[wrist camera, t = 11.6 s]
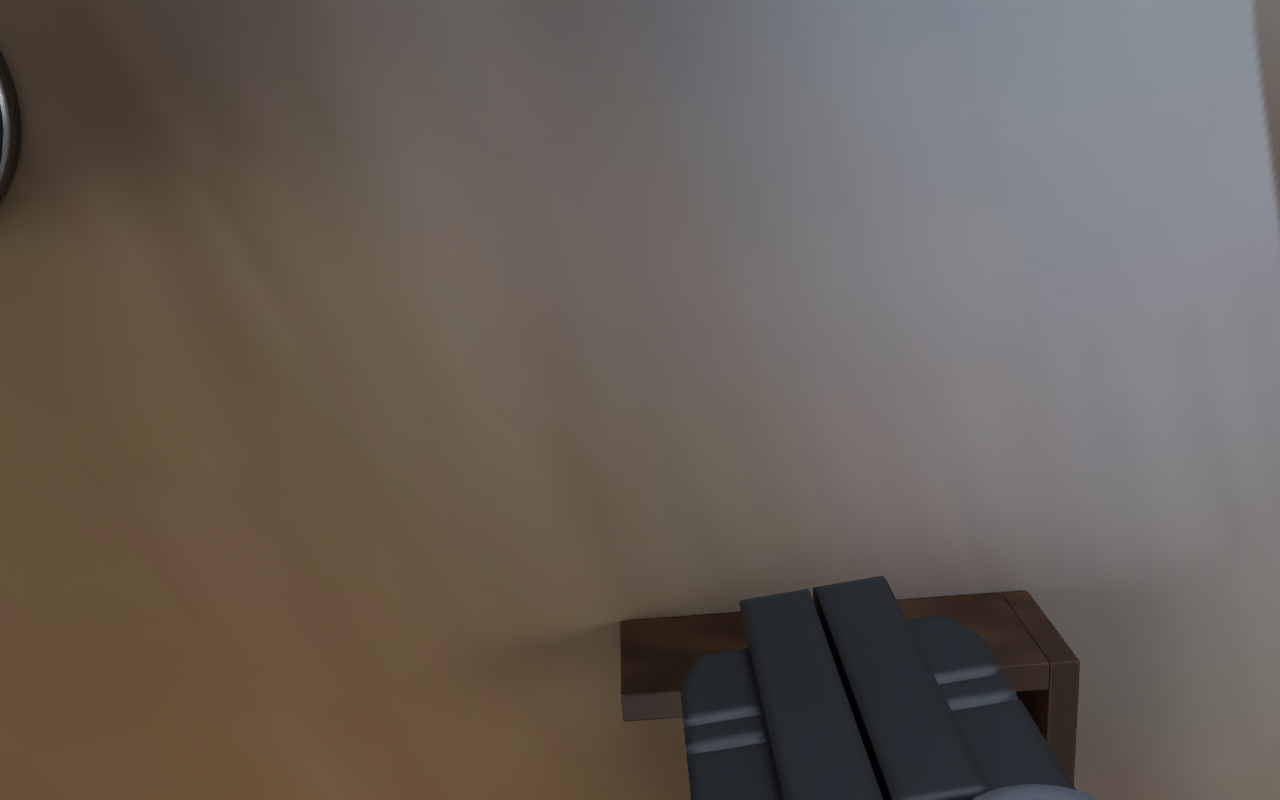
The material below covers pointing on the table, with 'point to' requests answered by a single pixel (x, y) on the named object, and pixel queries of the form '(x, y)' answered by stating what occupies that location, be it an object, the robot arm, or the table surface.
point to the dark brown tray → (1003, 620)
